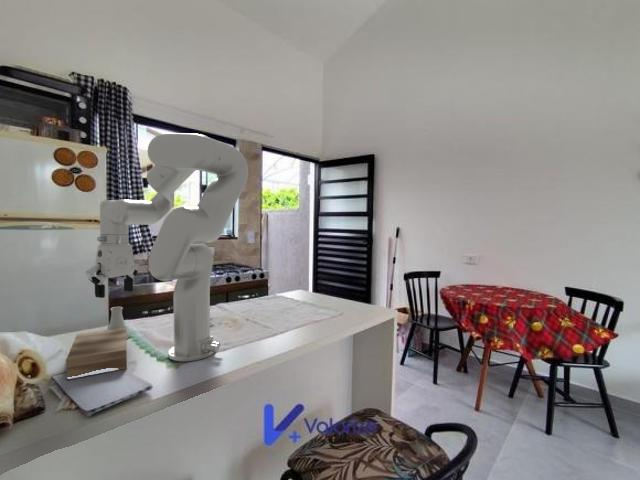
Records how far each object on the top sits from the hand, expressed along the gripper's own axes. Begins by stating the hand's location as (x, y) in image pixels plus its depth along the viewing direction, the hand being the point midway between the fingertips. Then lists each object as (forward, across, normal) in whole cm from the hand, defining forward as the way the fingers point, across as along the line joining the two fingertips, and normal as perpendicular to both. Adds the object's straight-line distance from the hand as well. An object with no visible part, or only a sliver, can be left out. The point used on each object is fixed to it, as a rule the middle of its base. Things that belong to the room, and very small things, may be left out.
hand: (114, 294), depth 101 cm
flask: (+15, 0, -1) cm, 15 cm away
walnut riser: (+14, -13, -11) cm, 22 cm away
